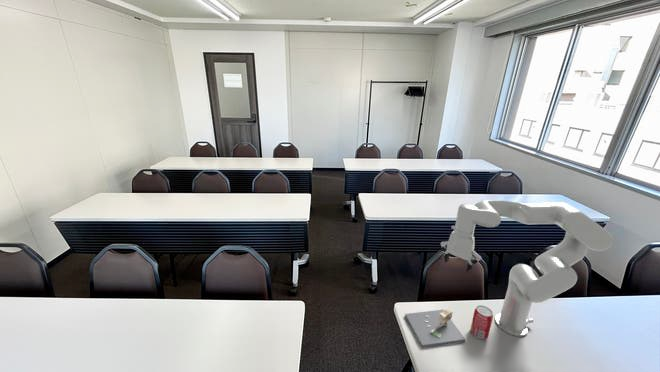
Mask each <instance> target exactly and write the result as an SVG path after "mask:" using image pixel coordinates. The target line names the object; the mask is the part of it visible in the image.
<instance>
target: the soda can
mask: <svg viewBox="0 0 660 372" xmlns="http://www.w3.org/2000/svg"><path fill="white" fill-rule="evenodd" d="M493 319H494V315H493V310H492V309H490V308H489V307H488V306H485V305H480V304H479V305H477V306H476V308H475V309H474V311H473V316H472V320H471V325H470V331H471V333H472V335H473V336H474V337H476V338H477V339H479V340H485V339H488V337H489V335H490V332H491V331H490V330H491V327H492V324H493Z"/></svg>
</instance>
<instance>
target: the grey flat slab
mask: <svg viewBox="0 0 660 372" xmlns="http://www.w3.org/2000/svg"><path fill="white" fill-rule="evenodd" d="M443 311H444V309H437V310H435V309H434V310H428V311H427V310H426V311H418V312H411V313H405V314H404V317H405V319H406V321H407V323H408V324H409V326H410V329H411V331H412V332H413V334H414V336H415V337H416V339H417V342H418V343H419V345H420V347H421V348H422V349H423V348H430V347H438V346H443V345H444V346H445V345H451V344H458V343H466V338H465V336H464V335H463V334H462V332H461V331H460V329H459V328H458V327H457V326H456V324H455V323H454V322H453V321H452V318H451V319H450V320H448V322H447V323H448V325H447V326H441V327H440V328H439V329H437V330H436V331H434V332H433V333H432V332H431V331H432V330H433V329H435V328H436V327H437V326H439V325H440V324H441V322H440V321H438V320H439V315H440V313H441V312H443Z"/></svg>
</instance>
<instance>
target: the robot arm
mask: <svg viewBox="0 0 660 372" xmlns="http://www.w3.org/2000/svg"><path fill="white" fill-rule="evenodd" d="M456 215H457V216H456V220H455V224H454V225H451V229H452V230H453V231H452V232H451V233H450V235H449V237H448V241H441V242H440V246H441V249H442V251H443V254H444V255H443V259H444V263H447V262H448V261H449V260H450V255H453V256H455V257H457V258H460V259H462V260H465V261H467V262H468V263H467V265H466V266H467V267H466V272H467V273H469V271H472V269H473V266H474V265H475V264H477V263H478V262H479V261H481V259H482V256H481V255H480V254H479V253H477V252H476V251H475V245H476V244H475V241H476V240H475V239H476V238H475V236H474V234H475V228H476V225H478V226H482V227H484V228H495V227H497V226H499V225H500V224H501V221H502V217H504V218H508V219H511V220H514V221H516V222H518V223H521V224H524V225H531V226H532V225H556V226H558V227H560V228H561V229H562V230H564V231H565V234H564V237H563V240H562V241H560V242H559V243H557V244H556V245H554V246H553V247H552V248H550V249H548V250H546V251H545V252H543V253H541V254H540V255H538V256H536V258H535V260H534V265H535V267H536V269H537V270H538V271H539V272H540V273H541V276H540V275H539V274H538V273H537V271H536V270H535V269H534V268H533V267H532V266H530V265H528V264H525V263H517V264H515V265H514V266H512V268H511V269H510V271H509V276H508V285H507V290H506V292H505V298H504V300H503V303H502V304H503V305H502V308H501V312H500V313H498V314H495V317H494V321H495V324H496V325H497V326H498V327H499V328H500V329H501V330H502V331H503V332H505V333H506V334H509V335H511V336H515V337H524V336H526V335H528V334H527V333H528V332H529V330H528V327H527V325H528V324H533V323H534V319H533V318H531V317H530V318H528V316H529V313H530V310H531V307H532V304H533V303H535V304H536V303H539V304H540V303H544V302H546V301H548V300H550V299H553V298H554V297H557V296H558V295H560V294H562V293H564V292H566V291H567V290H569V289H571V288H573V287H574V286H575V285H576V283H577V281H578V275H577V272H576V271H575V269H573V268H572V266H573V265H575V264H576V263H578V262H580V261H581V260H582V259H584V258H585V256H586V255H587V253H588V250H591V251H596V252H603V251H606V250H608V249H610V248H611V247H612V246H613V245H614V241H615V240H614V237H613V235H612V234H611V232H609V231H608V230H607V229H605V228H604V227H603V226H601V225H600V224H598V222H596V221H594V220H593V219H592V218H591V217H589V216H588V215H587V214H585V213H584V212H583V211H581V210H580V209H578V208H576V207H574V206H573V205H571V204H569V203H567V202H563V201H562V202H561V201H559V202H558V201H556V202H555V201H552V202H533V203H531V202H530V203H526V202H525V203H524V202H518V201H517V202H516V201H509V200H501V199H499V200H497V199H495V200H494V199H493V200H492V199H491V200H481V201H479V202H477V203H475V204H470V203H462V204H460V205H458V209H457V214H456ZM473 256H474V257H475V259H474V257H473Z"/></svg>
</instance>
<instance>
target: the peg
mask: <svg viewBox="0 0 660 372" xmlns="http://www.w3.org/2000/svg"><path fill="white" fill-rule="evenodd" d="M443 310H444V309H443ZM452 317H453V311H452V310H451V309H449V308H446V309H445V310H444V311H443V312H441V313H440V315H439V320H438V321H440V322H441V324H440V325H439V326H437V327H436V328H435V329H433V330H432V331H431V332H432V333H433V332H434V331H436V330H437V329H439V328H440V327H441V326H447V325H448V323H447V322H448V320H450V319H451V320H452Z"/></svg>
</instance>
